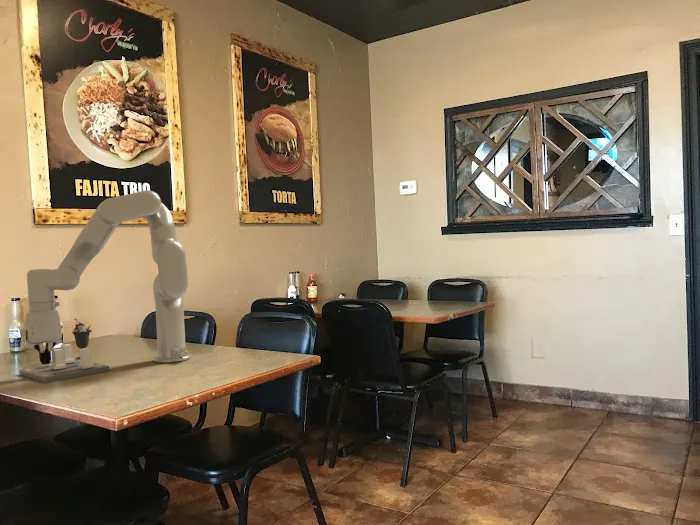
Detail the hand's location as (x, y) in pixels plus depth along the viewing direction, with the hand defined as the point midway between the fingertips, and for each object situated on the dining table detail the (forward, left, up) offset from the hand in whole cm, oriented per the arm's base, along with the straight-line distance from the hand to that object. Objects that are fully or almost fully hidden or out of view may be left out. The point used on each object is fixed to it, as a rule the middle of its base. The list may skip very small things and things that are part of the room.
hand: (45, 363), depth 189 cm
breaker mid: (0, -4, -2) cm, 4 cm away
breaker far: (+7, -10, -2) cm, 12 cm away
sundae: (+21, -21, -4) cm, 30 cm away
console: (0, -6, -4) cm, 7 cm away
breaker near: (-7, -10, -2) cm, 12 cm away
